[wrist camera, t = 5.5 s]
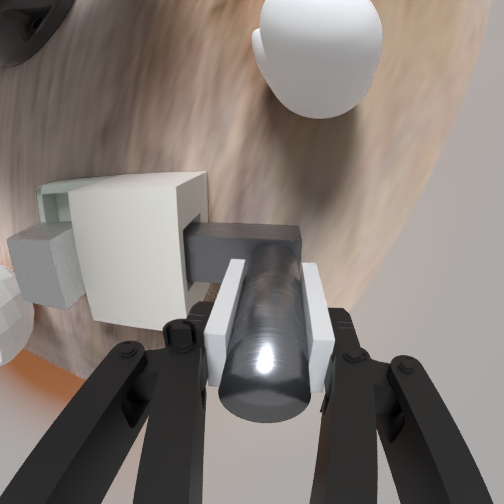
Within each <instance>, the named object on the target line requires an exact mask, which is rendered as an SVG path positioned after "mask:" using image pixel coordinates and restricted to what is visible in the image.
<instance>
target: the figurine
mask: <svg viewBox="0 0 504 504" xmlns="http://www.w3.org/2000/svg"><path fill="white" fill-rule="evenodd" d="M259 26H260V28H259V29H256V30H255V31H254V32H253V34H252V47H253V52H254V56H255V59H256V63H257V65H258V68H259V70H260V72H261V74H262V76H263V77H264V79H265V81H266V82H267V84H268V85H269V87H270V88H271V90H272V91H273V93H274V94H275V96H276V97H277V99H278V100H279V101H280V102H281V103H282V104H283V105H284V106H285V107H286V108H288V109H289V110H291V111H292V112H294V113H296V114H298V115H301V116H304V117H308V118H315V119H324V118H331V117H335V116H339V115H341V114H343V113H345V112H347V111H349V110H351V109H352V108H353V107H355V106H356V105H357V104H358V103H359V102H360V101H361V100H362V99H363V98H364V96H365V95H366V93H367V92H368V90H369V88H370V86H371V83H372V80H373V77H374V73H375V71H376V68H377V66H378V63H379V60H380V56H381V50H382V40H383V33H382V26H381V22H380V19H379V16H378V14H377V12H376V10H375V8H374V6H373V4H372V3H371V1H370V0H266V1H265V3H264V5H263V7H262V10H261V15H260V24H259Z"/></svg>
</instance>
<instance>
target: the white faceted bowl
mask: <svg viewBox="0 0 504 504" xmlns="http://www.w3.org/2000/svg"><path fill="white" fill-rule="evenodd" d="M34 313H35V311H34V307H33V303H31V302H27V301H23V298H22V295H21V292H20V289H19V286H18V282H17V279H16V275H15V272H14V271H13V270H11V269H10V268H9V267H6V266H4V265H1V264H0V366H2V365H4V364H6V363H8V362H10V361H11V360H12V359H13V358H14V357H15V356H16V355H17V354H18V353H19V352H20V351H21V350H22V349H23V348H24V346H25V345H26V344H27V342H28V340H29V338H30V336H31V334H32V332H33V324H34Z"/></svg>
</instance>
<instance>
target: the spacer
mask: <svg viewBox="0 0 504 504" xmlns="http://www.w3.org/2000/svg"><path fill="white" fill-rule="evenodd" d="M7 244H8V248H9V252H10V257H11V260H12V264H13V268H14V272H15V275H16V279H17V282H18V286H19V289H20V292H21V295H22V298H23V301H27V302H31V303H35V304H40V305H45V306H49V307H54V308H59V309H64V310H68V309H69V308H70V307H71V306H72V305H73V304H74V303H75V302H76V301H77V300H78V299H79V298H80V297H81V296H82V295H83V294H85V293H86V291H85V287H84V282H83V278H82V274H81V269H80V265H79V260H78V255H77V250H76V244H75V239H74V233H73V227H72V222H39V223H37V224H35V225H33V226H31V227H29V228H27V229H25V230H23V231H21V232H19V233H17V234H15V235H13V236H12V237H10V238H8V239H7Z"/></svg>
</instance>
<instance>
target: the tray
mask: <svg viewBox="0 0 504 504" xmlns="http://www.w3.org/2000/svg"><path fill="white" fill-rule="evenodd" d="M115 176H118V175H111V176H99V177H88V178H78V179H69V180H60V181H53V182H49V183H46V184H43V185H40V186H37V187H36V194H37V202H38V209H39V215H40V222H66V221H72V220H71V213H70V205H69V197H68V192H69V191H72V190H75V189H78V188H81V187H84V186H87V185H90V184H93V183H96V182H99V181H102V180H105V179H108V178H111V177H115Z"/></svg>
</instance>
